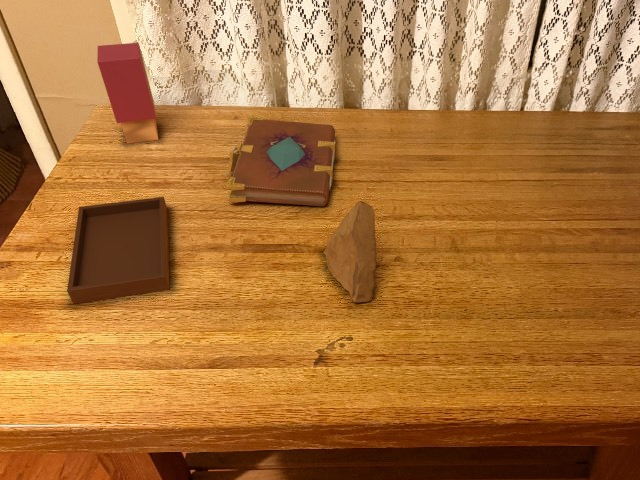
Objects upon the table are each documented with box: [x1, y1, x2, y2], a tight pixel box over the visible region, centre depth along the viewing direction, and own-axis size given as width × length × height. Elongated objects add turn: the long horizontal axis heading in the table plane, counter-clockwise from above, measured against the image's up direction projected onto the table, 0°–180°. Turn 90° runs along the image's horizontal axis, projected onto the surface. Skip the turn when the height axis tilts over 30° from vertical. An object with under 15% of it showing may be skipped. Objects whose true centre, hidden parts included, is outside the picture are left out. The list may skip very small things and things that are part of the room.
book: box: [225, 115, 336, 207], centre depth 94 cm, size 16×25×5 cm, turn 1°
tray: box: [66, 196, 171, 305], centre depth 78 cm, size 17×11×2 cm, turn 16°
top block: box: [96, 42, 157, 124], centre depth 94 cm, size 6×6×10 cm
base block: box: [120, 119, 159, 144], centre depth 99 cm, size 5×5×4 cm
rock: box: [323, 200, 377, 304], centre depth 75 cm, size 11×9×10 cm
